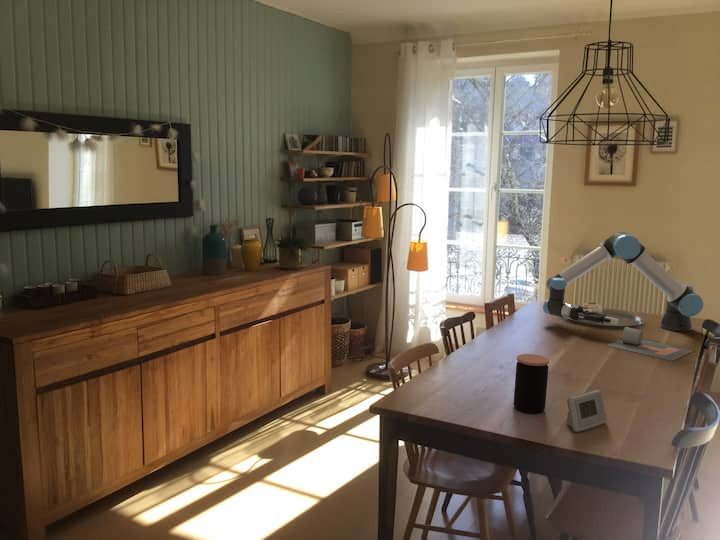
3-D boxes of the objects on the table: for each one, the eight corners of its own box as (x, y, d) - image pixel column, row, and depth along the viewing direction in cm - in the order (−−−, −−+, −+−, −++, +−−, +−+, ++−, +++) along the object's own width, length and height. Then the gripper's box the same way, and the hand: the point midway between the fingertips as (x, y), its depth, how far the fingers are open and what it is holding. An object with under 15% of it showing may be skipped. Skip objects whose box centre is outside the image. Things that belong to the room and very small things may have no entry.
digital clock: (574, 434, 206) (577, 402, 205) (555, 423, 215) (558, 392, 213) (614, 427, 213) (617, 396, 211) (594, 417, 221) (597, 386, 219)
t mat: (629, 337, 324) (629, 336, 324) (693, 351, 303) (693, 351, 303) (606, 345, 308) (606, 345, 308) (672, 361, 286) (672, 360, 286)
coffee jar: (550, 408, 227) (554, 358, 224) (535, 417, 219) (540, 365, 216) (522, 400, 234) (526, 351, 231) (507, 408, 226) (511, 358, 223)
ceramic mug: (639, 347, 306) (641, 331, 305) (621, 344, 310) (623, 328, 309) (643, 342, 315) (645, 326, 313) (625, 339, 319) (626, 324, 318)
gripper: (578, 317, 338) (623, 327, 321) (565, 321, 329) (610, 331, 312) (580, 303, 337) (624, 312, 320) (566, 306, 328) (612, 316, 311)
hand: (617, 322), depth 316 cm, fingers closed
